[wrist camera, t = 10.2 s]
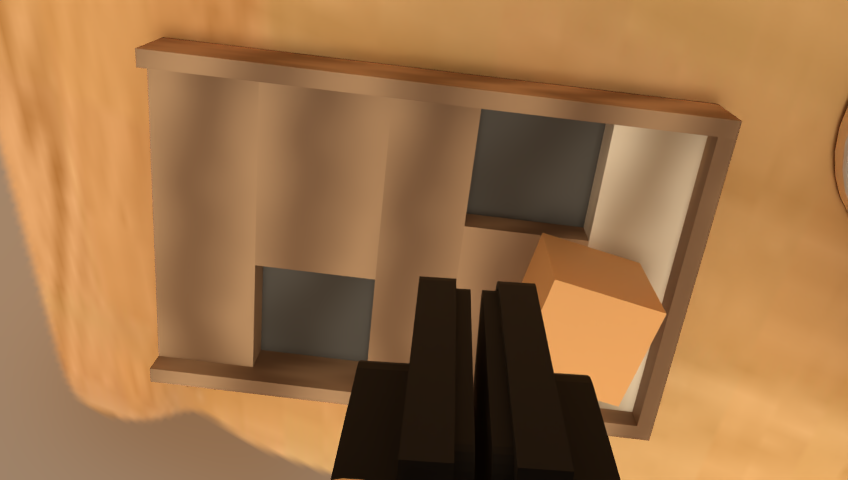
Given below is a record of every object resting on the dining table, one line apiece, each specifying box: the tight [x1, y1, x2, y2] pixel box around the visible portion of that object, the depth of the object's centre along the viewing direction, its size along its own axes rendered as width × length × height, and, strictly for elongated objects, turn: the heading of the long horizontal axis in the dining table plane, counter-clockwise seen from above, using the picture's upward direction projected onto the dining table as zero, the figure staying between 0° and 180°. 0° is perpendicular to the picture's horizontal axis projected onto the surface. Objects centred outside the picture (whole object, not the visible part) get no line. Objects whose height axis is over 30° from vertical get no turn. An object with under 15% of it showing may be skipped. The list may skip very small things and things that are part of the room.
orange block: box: [522, 233, 666, 407], centre depth 34 cm, size 5×5×5 cm
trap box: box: [135, 37, 742, 441], centre depth 36 cm, size 26×17×3 cm, turn 84°
